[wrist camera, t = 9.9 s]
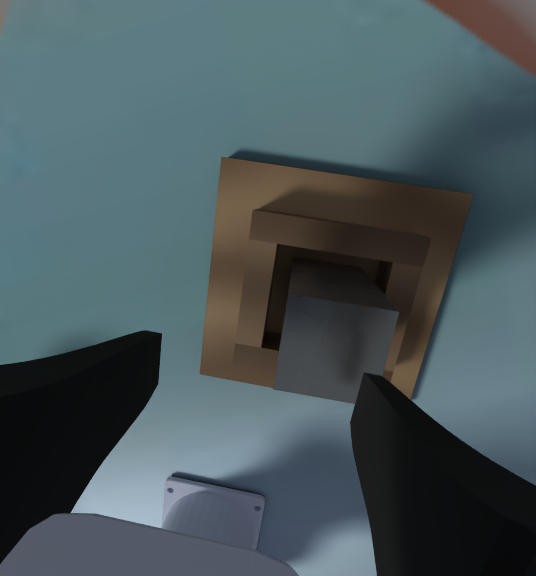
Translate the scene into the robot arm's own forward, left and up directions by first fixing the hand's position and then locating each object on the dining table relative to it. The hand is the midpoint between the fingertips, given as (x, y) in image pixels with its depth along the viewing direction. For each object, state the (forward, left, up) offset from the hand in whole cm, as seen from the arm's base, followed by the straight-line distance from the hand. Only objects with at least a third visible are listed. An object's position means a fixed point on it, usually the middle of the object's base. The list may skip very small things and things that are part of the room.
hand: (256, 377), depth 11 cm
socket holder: (+1, -3, -10) cm, 11 cm away
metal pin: (+1, -3, -9) cm, 10 cm away
